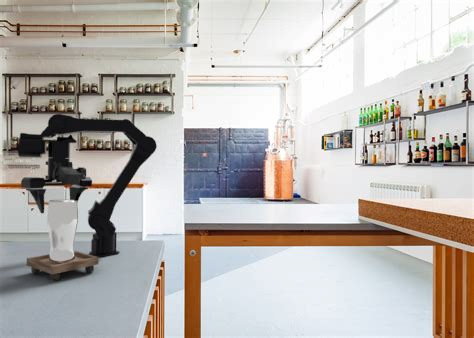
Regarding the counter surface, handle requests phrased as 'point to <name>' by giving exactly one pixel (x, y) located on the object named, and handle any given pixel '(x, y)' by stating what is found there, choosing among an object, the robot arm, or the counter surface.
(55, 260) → the beer glass
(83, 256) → the walnut dolly
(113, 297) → the counter surface
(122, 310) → the counter surface
